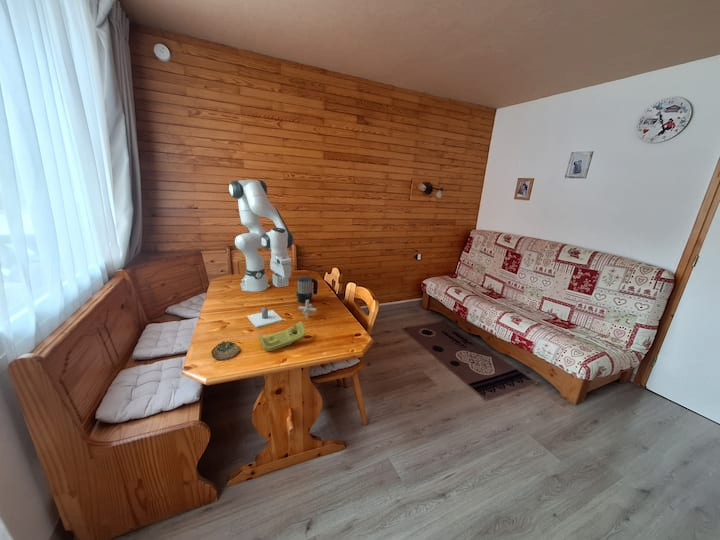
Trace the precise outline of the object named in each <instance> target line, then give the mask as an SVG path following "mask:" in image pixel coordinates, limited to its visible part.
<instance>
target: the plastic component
mask: <svg viewBox="0 0 720 540" xmlns="http://www.w3.org/2000/svg"><path fill="white" fill-rule="evenodd" d="M305 334H306V327H305V325H304V323H303V321H298V322H297V323H296V324H295V325H292V326H290V327H288V328H287V329H285V330H281V331H278V332H275V333H274V332H273V333H272V334H268V335H265V336H263V335H262V334H261V333H258V340H259V341H260V342H261V345H262V348H263V350H265V351H266V352H271V351H276V350H278V349H281V348H284V347H286V346H290V345H292V343H293V342H297V341H298V340H301V338H302V337H303V336H304V335H305Z"/></svg>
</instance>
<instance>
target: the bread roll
mask: <svg viewBox="0 0 720 540" xmlns="http://www.w3.org/2000/svg"><path fill="white" fill-rule="evenodd" d="M239 351H241V347H240V346H239V345H238V344H236V343H235V342H232V341H222V342H220V343H218V344H217V345H216V346H215V347H213V349H212V350H211V355H212V357H213V358H214V359H216V360H219V361H226V360H228V359H231V358H233V357H235V356H236V355H237V354H238V353H239Z"/></svg>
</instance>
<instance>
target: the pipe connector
mask: <svg viewBox="0 0 720 540" xmlns="http://www.w3.org/2000/svg"><path fill="white" fill-rule="evenodd" d="M297 309H298V310H299V311H300V310H301V311H302V315H305V318H306V319H309V318H310V312H314V313H315V312H317V308H315V307H313V304H312V303H310V302H309V300H306V303H305V306H303V305H302V306H301V305H298V307H297Z"/></svg>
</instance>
